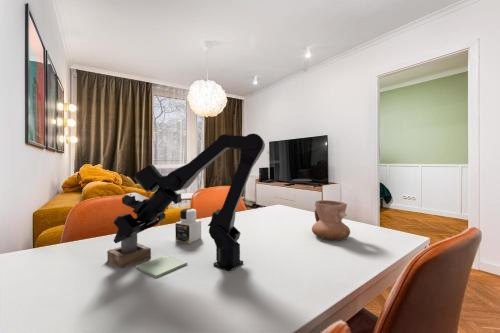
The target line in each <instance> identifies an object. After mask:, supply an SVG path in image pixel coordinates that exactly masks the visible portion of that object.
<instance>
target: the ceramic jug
mask: <svg viewBox="0 0 500 333" xmlns="http://www.w3.org/2000/svg"><path fill="white" fill-rule="evenodd" d="M347 206H348V203H347V202H345V201H335V200H324V199H322V200H320V199H319V200H315V201H314V207H315V209H314V219H315V222H314V224H313V225H312V226H311V231H312V233H313V234H314V235H315V236H316V237H318V238H320V239H322V240H326V241H341V240H346V239H347V238H348V237H349V236H350V235H351V229H350V227H349V226H348V225H346V224H345V223H344V222H343V221H342V220H343V218H345V217H347V215H348V214H347V213H346V210H347V208H348V207H347Z"/></svg>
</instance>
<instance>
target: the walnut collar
mask: <svg viewBox="0 0 500 333" xmlns="http://www.w3.org/2000/svg"><path fill="white" fill-rule="evenodd" d="M151 251H152V248H151V247H149V246H146V245H143V244H141V243H139V242H137V251H134V252H131V253H128V254H125V255H124V254H122V253H121V246H120V247H115V248H113V249H109V250H107V252H106V253H107V261H108V262H110V263H111V264H114V265H115V266H117V267H118V268H120V269H121V268H125V267H128V266H131V265H134V264H137V263H140V262H142V261H145V260H148V259H151V258H152V252H151Z"/></svg>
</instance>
